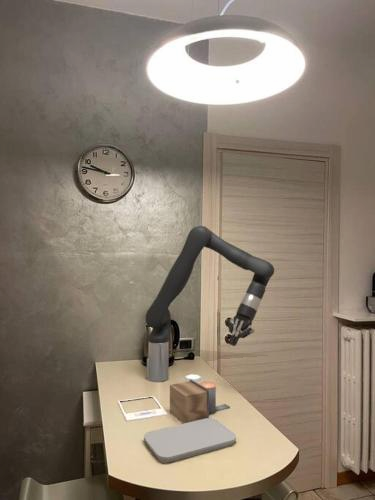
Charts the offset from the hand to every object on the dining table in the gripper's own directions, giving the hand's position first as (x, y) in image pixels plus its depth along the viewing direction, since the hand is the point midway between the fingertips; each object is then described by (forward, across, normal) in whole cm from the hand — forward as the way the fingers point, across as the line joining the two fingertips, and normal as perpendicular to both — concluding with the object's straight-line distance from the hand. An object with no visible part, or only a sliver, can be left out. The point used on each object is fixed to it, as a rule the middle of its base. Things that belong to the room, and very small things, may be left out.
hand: (231, 345), depth 151 cm
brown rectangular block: (+26, +7, -9) cm, 29 cm away
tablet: (+33, +18, -26) cm, 46 cm away
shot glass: (+25, -9, +2) cm, 26 cm away
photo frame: (+36, -11, -20) cm, 43 cm away
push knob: (+26, +7, -8) cm, 28 cm away
